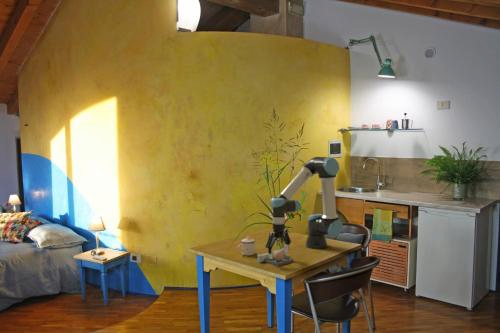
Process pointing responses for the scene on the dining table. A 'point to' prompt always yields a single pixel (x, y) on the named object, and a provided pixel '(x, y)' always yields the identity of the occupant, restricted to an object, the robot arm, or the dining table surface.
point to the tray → (278, 263)
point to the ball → (278, 256)
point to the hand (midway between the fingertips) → (278, 256)
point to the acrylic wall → (267, 256)
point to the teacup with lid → (247, 246)
